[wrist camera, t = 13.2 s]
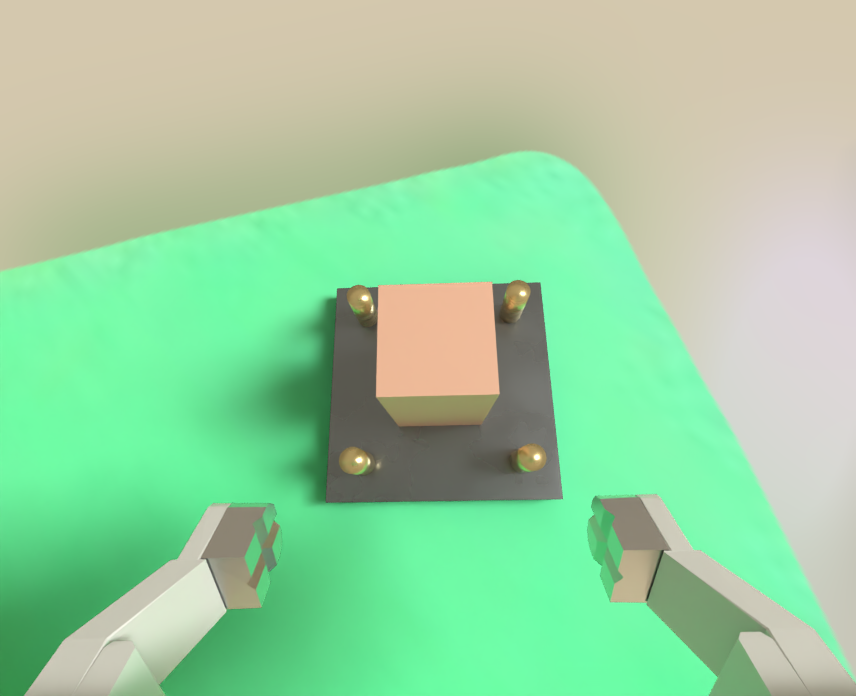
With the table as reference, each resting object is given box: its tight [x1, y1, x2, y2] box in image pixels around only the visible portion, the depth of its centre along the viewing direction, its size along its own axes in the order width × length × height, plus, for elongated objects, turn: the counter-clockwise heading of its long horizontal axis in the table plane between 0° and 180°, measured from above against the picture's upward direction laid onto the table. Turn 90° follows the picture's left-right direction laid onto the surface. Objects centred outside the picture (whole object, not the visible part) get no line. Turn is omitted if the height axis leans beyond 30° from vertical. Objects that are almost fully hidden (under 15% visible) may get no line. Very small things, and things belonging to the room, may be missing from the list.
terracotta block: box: [376, 282, 500, 426], centre depth 20 cm, size 4×4×8 cm
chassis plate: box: [326, 280, 563, 503], centre depth 23 cm, size 12×12×4 cm
